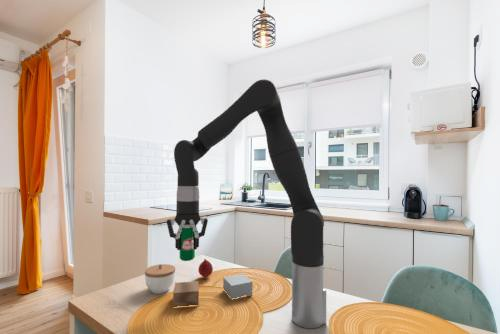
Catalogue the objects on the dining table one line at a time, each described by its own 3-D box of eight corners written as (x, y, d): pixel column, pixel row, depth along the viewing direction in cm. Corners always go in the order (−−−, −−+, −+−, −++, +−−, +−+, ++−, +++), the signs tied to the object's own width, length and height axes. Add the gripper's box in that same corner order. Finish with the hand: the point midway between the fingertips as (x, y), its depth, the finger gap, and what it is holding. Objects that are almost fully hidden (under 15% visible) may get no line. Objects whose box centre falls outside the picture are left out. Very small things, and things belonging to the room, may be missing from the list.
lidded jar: (149, 299, 91) (149, 272, 91) (141, 288, 99) (141, 263, 100) (179, 291, 97) (179, 265, 97) (169, 281, 106) (169, 258, 106)
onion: (214, 275, 112) (214, 256, 112) (210, 281, 106) (210, 261, 106) (200, 275, 112) (200, 256, 113) (196, 280, 107) (196, 260, 107)
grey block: (242, 286, 101) (242, 273, 101) (252, 295, 94) (252, 281, 94) (223, 290, 98) (223, 277, 98) (231, 300, 90) (231, 285, 91)
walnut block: (198, 295, 94) (198, 281, 94) (198, 306, 86) (198, 291, 86) (175, 297, 92) (175, 282, 93) (173, 308, 85) (173, 293, 85)
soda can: (182, 262, 86) (182, 225, 86) (177, 258, 90) (177, 223, 91) (197, 259, 89) (197, 224, 89) (191, 255, 93) (191, 221, 93)
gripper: (164, 200, 85) (164, 253, 85) (209, 200, 88) (209, 251, 87) (167, 198, 92) (166, 247, 92) (208, 197, 95) (208, 245, 95)
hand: (187, 248), depth 90 cm, fingers closed on soda can, 5 cm apart
